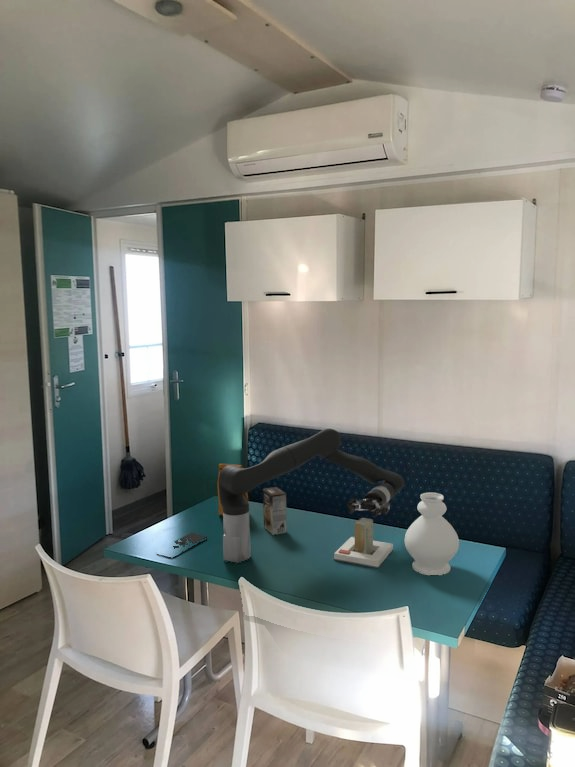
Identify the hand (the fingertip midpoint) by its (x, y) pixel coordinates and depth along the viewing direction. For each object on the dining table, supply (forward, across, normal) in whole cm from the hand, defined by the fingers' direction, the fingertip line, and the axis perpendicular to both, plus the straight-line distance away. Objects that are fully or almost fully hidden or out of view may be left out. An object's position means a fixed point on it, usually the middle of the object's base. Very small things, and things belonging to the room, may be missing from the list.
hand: (361, 512), depth 222 cm
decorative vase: (-2, +24, +17) cm, 29 cm away
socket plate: (-2, 0, +16) cm, 17 cm away
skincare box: (-2, 0, +16) cm, 16 cm away
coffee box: (-10, -40, +17) cm, 44 cm away
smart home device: (+18, -64, +17) cm, 69 cm away
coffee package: (-18, -64, +17) cm, 69 cm away
